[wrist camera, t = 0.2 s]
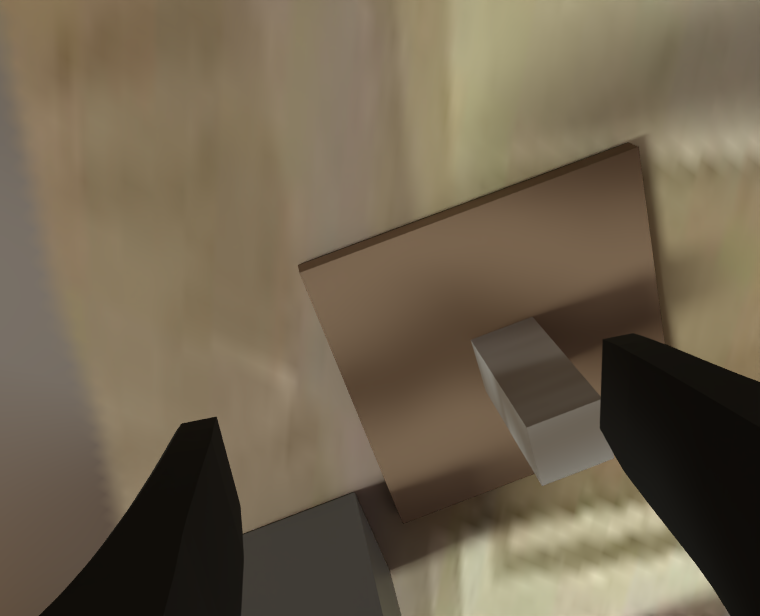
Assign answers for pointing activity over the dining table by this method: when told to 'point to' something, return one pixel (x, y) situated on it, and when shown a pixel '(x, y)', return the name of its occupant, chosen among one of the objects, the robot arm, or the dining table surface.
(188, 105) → the dining table surface
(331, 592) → the grey rectangular block
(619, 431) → the robot arm
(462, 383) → the post board
